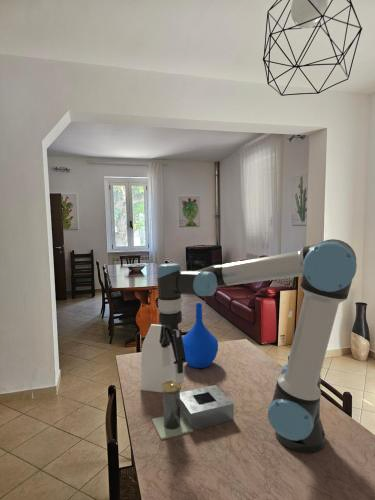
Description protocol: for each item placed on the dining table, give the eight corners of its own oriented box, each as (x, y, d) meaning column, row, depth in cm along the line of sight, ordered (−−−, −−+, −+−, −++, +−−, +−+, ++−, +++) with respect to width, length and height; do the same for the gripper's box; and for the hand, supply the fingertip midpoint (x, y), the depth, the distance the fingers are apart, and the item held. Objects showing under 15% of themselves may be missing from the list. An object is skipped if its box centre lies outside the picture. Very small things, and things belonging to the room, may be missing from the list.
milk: (140, 389, 136) (139, 328, 134) (150, 377, 147) (149, 320, 145) (168, 393, 133) (167, 330, 131) (176, 379, 144) (175, 321, 142)
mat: (193, 431, 109) (193, 429, 109) (161, 439, 105) (161, 438, 105) (181, 413, 119) (181, 411, 119) (151, 420, 115) (151, 418, 115)
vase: (186, 374, 149) (185, 310, 146) (176, 358, 166) (175, 300, 164) (223, 369, 154) (223, 307, 151) (210, 354, 171) (210, 298, 169)
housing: (233, 419, 115) (233, 403, 114) (191, 430, 109) (190, 413, 109) (215, 399, 128) (215, 385, 127) (176, 408, 122) (176, 393, 122)
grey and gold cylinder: (184, 427, 110) (184, 386, 109) (165, 432, 108) (165, 390, 106) (177, 416, 116) (177, 378, 115) (159, 421, 114) (159, 381, 112)
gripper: (195, 318, 98) (197, 387, 100) (169, 301, 121) (171, 357, 123) (171, 322, 95) (174, 392, 97) (149, 304, 119) (151, 361, 120)
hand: (172, 373), depth 110 cm, fingers open, 13 cm apart
